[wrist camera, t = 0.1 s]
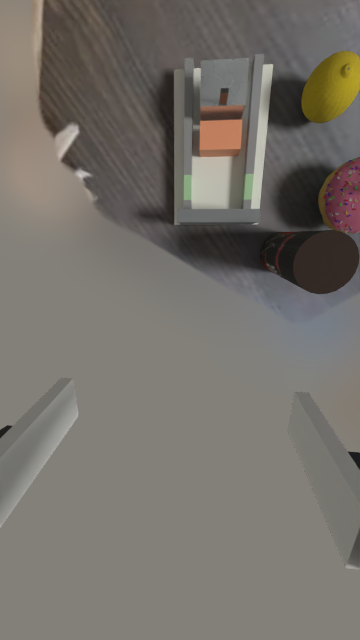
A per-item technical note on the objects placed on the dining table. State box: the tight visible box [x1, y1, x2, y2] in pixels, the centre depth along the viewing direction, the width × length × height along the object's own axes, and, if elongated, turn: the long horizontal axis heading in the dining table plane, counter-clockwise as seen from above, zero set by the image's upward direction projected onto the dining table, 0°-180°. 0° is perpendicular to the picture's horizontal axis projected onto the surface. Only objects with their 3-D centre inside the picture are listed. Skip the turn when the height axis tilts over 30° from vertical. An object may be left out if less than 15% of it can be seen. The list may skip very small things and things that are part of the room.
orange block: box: [200, 119, 243, 157], centre depth 32 cm, size 3×5×3 cm, turn 90°
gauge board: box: [174, 54, 273, 225], centre depth 31 cm, size 18×12×7 cm, turn 0°
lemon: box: [301, 51, 360, 123], centre depth 28 cm, size 6×6×8 cm
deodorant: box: [261, 230, 359, 294], centre depth 31 cm, size 6×6×15 cm
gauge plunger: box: [200, 58, 249, 121], centre depth 28 cm, size 4×5×7 cm
